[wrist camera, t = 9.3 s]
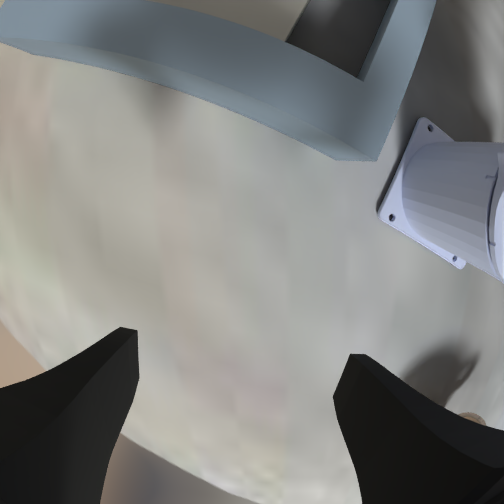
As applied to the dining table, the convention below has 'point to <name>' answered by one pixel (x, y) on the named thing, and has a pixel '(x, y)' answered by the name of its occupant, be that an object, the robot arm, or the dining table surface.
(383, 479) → the robot arm
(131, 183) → the dining table surface
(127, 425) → the dining table surface
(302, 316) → the dining table surface
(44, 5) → the box
